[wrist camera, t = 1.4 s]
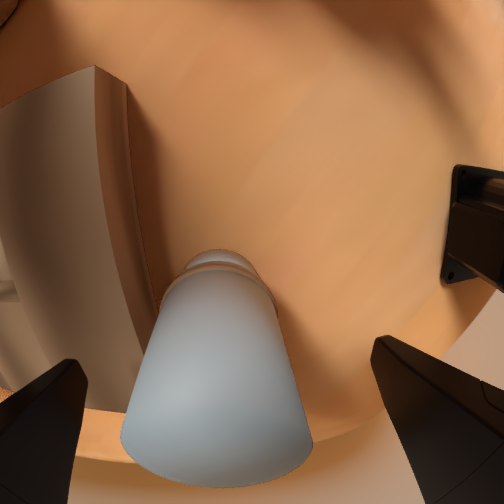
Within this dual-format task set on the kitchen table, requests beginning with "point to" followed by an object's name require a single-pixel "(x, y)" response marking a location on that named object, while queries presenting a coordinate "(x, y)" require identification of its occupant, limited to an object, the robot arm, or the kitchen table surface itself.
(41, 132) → the board
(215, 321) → the peg
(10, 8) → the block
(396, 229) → the kitchen table surface
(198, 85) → the kitchen table surface
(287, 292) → the kitchen table surface
